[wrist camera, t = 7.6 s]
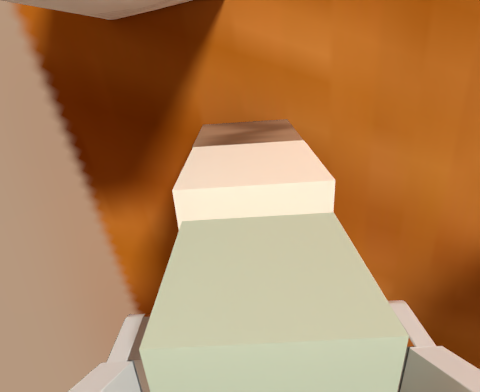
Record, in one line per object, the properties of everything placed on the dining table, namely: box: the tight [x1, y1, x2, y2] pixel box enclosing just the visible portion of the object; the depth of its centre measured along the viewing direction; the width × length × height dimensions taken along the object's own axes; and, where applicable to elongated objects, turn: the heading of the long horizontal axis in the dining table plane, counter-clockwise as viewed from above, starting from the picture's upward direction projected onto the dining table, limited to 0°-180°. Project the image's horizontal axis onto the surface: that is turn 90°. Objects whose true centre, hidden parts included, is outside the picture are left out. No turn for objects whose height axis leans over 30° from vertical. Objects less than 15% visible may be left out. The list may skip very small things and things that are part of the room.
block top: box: [172, 140, 335, 229], centre depth 16 cm, size 6×6×6 cm
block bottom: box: [192, 119, 303, 148], centre depth 21 cm, size 6×6×6 cm
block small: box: [139, 212, 409, 392], centre depth 9 cm, size 5×5×5 cm
